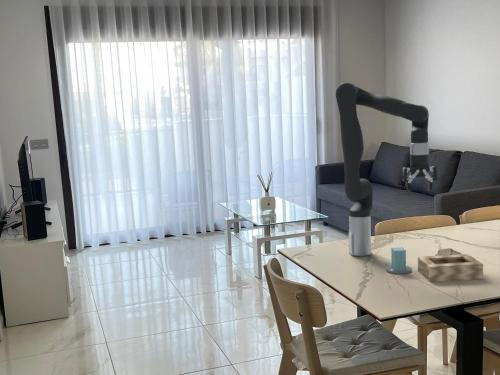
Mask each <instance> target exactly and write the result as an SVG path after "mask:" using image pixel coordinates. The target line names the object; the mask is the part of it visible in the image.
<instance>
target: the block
mask: <svg viewBox="0 0 500 375" xmlns="http://www.w3.org/2000/svg"><path fill="white" fill-rule="evenodd" d="M390 252H391V260H390V261H391V266H392V268H393V269H394V270H395V271H397V270H406V266H407V249H405V248H404V247H391V251H390Z"/></svg>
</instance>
